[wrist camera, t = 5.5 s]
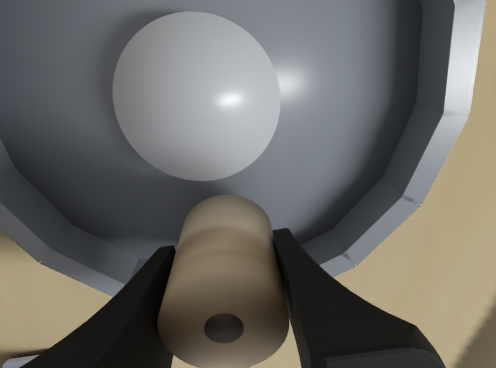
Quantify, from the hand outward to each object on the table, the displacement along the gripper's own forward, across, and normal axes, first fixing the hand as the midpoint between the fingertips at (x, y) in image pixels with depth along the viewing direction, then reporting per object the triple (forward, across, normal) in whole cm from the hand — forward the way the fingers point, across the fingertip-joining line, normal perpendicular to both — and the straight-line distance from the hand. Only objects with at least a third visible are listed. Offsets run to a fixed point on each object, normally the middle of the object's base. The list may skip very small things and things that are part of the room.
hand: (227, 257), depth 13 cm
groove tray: (+4, 0, -6) cm, 7 cm away
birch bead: (+1, 0, 0) cm, 1 cm away
